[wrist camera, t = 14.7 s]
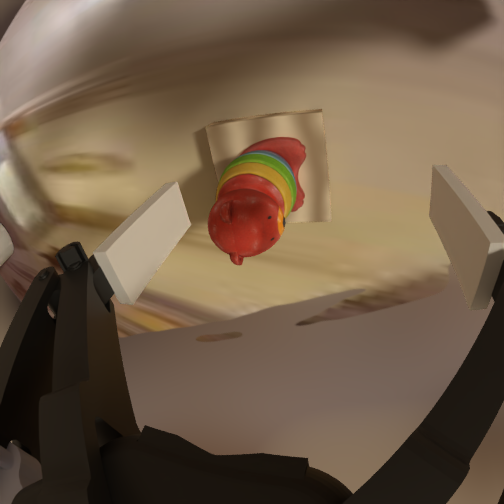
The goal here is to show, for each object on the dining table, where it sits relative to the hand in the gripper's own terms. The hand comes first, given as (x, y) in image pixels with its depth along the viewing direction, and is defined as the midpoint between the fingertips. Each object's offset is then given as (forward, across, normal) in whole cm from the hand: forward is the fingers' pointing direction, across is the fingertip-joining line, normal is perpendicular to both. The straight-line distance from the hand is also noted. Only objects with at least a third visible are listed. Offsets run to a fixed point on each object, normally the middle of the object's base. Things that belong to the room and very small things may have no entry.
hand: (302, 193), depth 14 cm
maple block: (+30, -8, -8) cm, 32 cm away
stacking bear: (+26, -8, -8) cm, 28 cm away
